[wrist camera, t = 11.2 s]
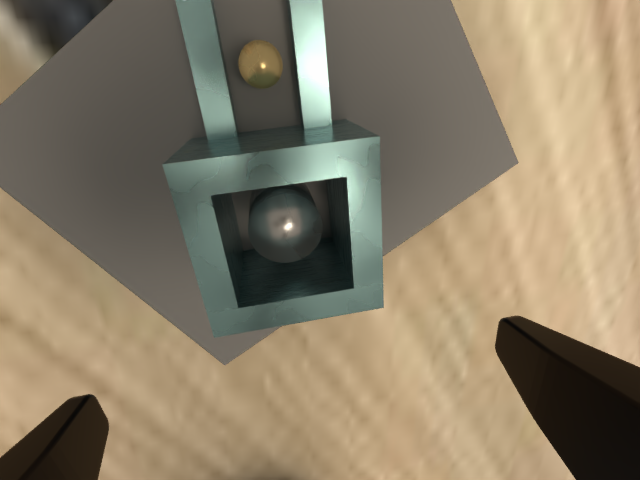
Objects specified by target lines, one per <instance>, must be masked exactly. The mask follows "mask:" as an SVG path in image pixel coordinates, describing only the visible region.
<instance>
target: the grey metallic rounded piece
mask: <svg viewBox="0 0 640 480" xmlns="http://www.w3.org/2000/svg"><path fill="white" fill-rule="evenodd" d="M322 230H323V224H322V219H321V216H320V214H319V211H318V209H317V207H316V204H315V202H314V200H313V197H312V195H311V193H310V190H309V188H308V186H307V185H306V183H305V182H304V183H297V184H289V185H282V186H275V187H268V188H261V189H254V190H252V193H251V197H250V208H249V221H248V235H249V239H250V242H251V244H252V245H253V247H254V248H255V250H256V251H257V252H258V253H259V254H260V255H262V256H263V257H265V258H267V259H269V260H271V261H275V262H280V263H288V262H294V261H298V260H300V259H302V258H304V257H306V256H308V255H309V254H310V253H311V252H312V251H313V250H314V249H315V248H316V247H317V245H318V243H319V242H320V239H321V236H322Z"/></svg>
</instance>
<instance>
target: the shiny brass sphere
mask: <svg viewBox="0 0 640 480" xmlns="http://www.w3.org/2000/svg"><path fill="white" fill-rule="evenodd" d="M238 65H239V70H240V73H241V75H242V77H243V78H244V80H245V81H246V82H247V83H248V84H249V85H251V86H253V87H255V88H259V89H265V88H269V87H271V86H273V85H274V84H276V83H277V81H278V80H279V79H280V77H281V74H282V70H283V63H282V58H281V55H280V53H279V52H278V50H277V49H276V48H275V47H274V46H273V45H272V44H271V43H269V42H267V41H264V40H254V41H251V42H249V43H248V44H246V45H245V46H244V47H243V49H242V50H241V52H240V55H239V60H238Z"/></svg>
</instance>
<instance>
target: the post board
mask: <svg viewBox="0 0 640 480" xmlns="http://www.w3.org/2000/svg"><path fill="white" fill-rule="evenodd" d="M213 1H214V6H215V11H216V17H217V22H218V27H219V32H220V37H221V43H222V48H223V53H224V58H225V63H226V68H227V74H228V79H229V84H230V89H231V94H232V99H233V105H234V110H235V115H236V120H237V125H238V130H239V132H247V131H255V130H263V129H271V128H279V127H287V126H295V125H301V119H300V111H299V102H298V94H297V85H296V76H295V68H294V59H293V51H292V42H291V34H290V25H289V16H288V8H287V0H213ZM322 5H323V18H324V30H325V43H326V56H327V68H328V81H329V93H330V106H331V118H332V121H336V120H344V119H347V120H349V121H351V122H353V123H355V124H357V125H359V126H361V127H363V128H365V129H367V130H369V131H371V132H373V133H375V134H377V135H379V136H380V167H381V212H382V257H383V256H384V255H386V254H387V253H388V252H390V251H391V250H393V249H394V248H396V247H397V246H399V245H400V244H401V243H403V242H404V241H406V240H407V239H409V238H410V237H412V236H413V235H415V234H416V233H417V232H419V231H420V230H422V229H423V228H425V227H426V226H428V225H429V224H431V223H432V222H433V221H435V220H436V219H438V218H439V217H441V216H442V215H444V214H445V213H446V212H448V211H449V210H451V209H452V208H454V207H455V206H457V205H458V204H460V203H461V202H462V201H464V200H465V199H467V198H468V197H470V196H471V195H473V194H474V193H475V192H477V191H478V190H480V189H481V188H483V187H484V186H486V185H487V184H489V183H490V182H491V181H493V180H494V179H496V178H497V177H499V176H500V175H502V174H503V173H505V172H506V171H507V170H509V169H510V168H512V167H513V166H515V165H516V164H518V160H517V158H516V155H515V153H514V151H513V148H512V146H511V143H510V141H509V139H508V136H507V134H506V131H505V129H504V127H503V124H502V122H501V119H500V117H499V115H498V112H497V110H496V107H495V105H494V103H493V100H492V98H491V95H490V93H489V91H488V88H487V86H486V83H485V81H484V79H483V76H482V74H481V71H480V69H479V67H478V64H477V62H476V59H475V57H474V55H473V52H472V50H471V48H470V45H469V43H468V40H467V38H466V36H465V33H464V31H463V28H462V26H461V24H460V21H459V19H458V16H457V14H456V12H455V9H454V7H453V4H452V2H451V0H322ZM254 40H264V41H267V42H269V43H271V44H272V45H273V46H274V47H275V48H276V49H277V50H278V52H279V53H280V55H281V58H282V63H283V70H282V74H281V77H280V79H279V80H278V81H277V83H276V84H274V85H273V86H271V87H269V88H265V89H259V88H255V87H253V86H251V85H249V84H248V83H247V82H246V81H245V80H244V78H243V77H242V75H241V73H240V70H239V65H238V60H239V55H240V52H241V50H242V49H243V47H244V46H245V45H246V44H248V43H249V42H251V41H254ZM199 137H207V134H206V130H205V126H204V121H203V117H202V113H201V108H200V104H199V100H198V96H197V91H196V87H195V83H194V78H193V74H192V70H191V66H190V61H189V57H188V53H187V48H186V44H185V40H184V36H183V31H182V27H181V23H180V18H179V14H178V10H177V6H176V1H175V0H113V1H112V2H111V3H110V4H109V5H108V6H107V7H106V8H105V9H104V10H103V11H101V12H100V13H99V14H98V15H97V16H96V17H95V18H94V19H93V20H92V21H91V22H90V23H88V24H87V25H86V26H85V27H84V28H83V29H82V30H81V31H80V32H79V33H78V34H77V35H75V36H74V37H73V38H72V39H71V40H70V41H69V42H68V43H67V44H66V45H65V46H64V47H62V48H61V49H60V50H59V51H58V52H57V53H56V54H55V55H54V56H53V57H52V58H51V59H49V60H48V61H47V62H46V63H45V64H44V65H43V66H42V67H41V68H40V69H39V70H38V71H36V72H35V73H34V74H33V75H32V76H31V77H30V78H29V79H28V80H27V81H26V82H25V83H23V84H22V85H21V86H20V87H19V88H18V89H17V90H16V91H15V92H14V93H13V94H12V95H10V96H9V97H8V98H7V99H6V100H5V101H4V102H3V103H2V104H1V105H0V188H2V189H3V190H4V191H5V192H7V193H8V194H9V195H11V196H12V197H13V198H14V199H16V200H17V201H18V202H19V203H21V204H22V205H23V206H24V207H26V208H27V209H28V210H29V211H31V212H32V213H33V214H34V215H36V216H37V217H38V218H40V219H41V220H42V221H43V222H45V223H46V224H47V225H48V226H50V227H51V228H52V229H53V230H55V231H56V232H57V233H58V234H60V235H61V236H62V237H64V238H65V239H66V240H67V241H69V242H70V243H71V244H72V245H74V246H75V247H76V248H77V249H79V250H80V251H81V252H82V253H84V254H85V255H86V256H87V257H89V258H90V259H91V260H93V261H94V262H95V263H96V264H98V265H99V266H100V267H101V268H103V269H104V270H105V271H106V272H108V273H109V274H110V275H111V276H113V277H114V278H115V279H117V280H118V281H119V282H120V283H122V284H123V285H124V286H125V287H127V288H128V289H129V290H130V291H132V292H133V293H134V294H135V295H137V296H138V297H139V298H140V299H142V300H143V301H144V302H146V303H147V304H148V305H149V306H151V307H152V308H153V309H154V310H156V311H157V312H158V313H159V314H161V315H162V316H163V317H164V318H166V319H167V320H168V321H170V322H171V323H172V324H173V325H175V326H176V327H177V328H178V329H180V330H181V331H182V332H183V333H185V334H186V335H187V336H188V337H190V338H191V339H192V340H193V341H195V342H196V343H197V344H199V345H200V346H201V347H202V348H204V349H205V350H206V351H207V352H209V353H210V354H211V355H212V356H214V357H215V358H216V359H217V360H219V361H220V362H221V363H223V364H224V365H226V364H227V363H229V362H230V361H232V360H233V359H235V358H236V357H238V356H239V355H240V354H242V353H243V352H245V351H246V350H248V349H249V348H251V347H252V346H253V345H255V344H256V343H258V342H259V341H261V340H262V339H264V338H265V337H267V336H268V335H269V334H271V333H272V332H274V331H275V330H277V329H278V328H280V327H281V326H278V327H272V328H267V329H261V330H255V331H250V332H244V333H239V334H233V335H227V336H222V337H216V338H214V336H213V333H212V329H211V326H210V323H209V319H208V316H207V312H206V309H205V306H204V302H203V299H202V296H201V292H200V289H199V286H198V282H197V279H196V276H195V272H194V269H193V266H192V262H191V259H190V255H189V252H188V249H187V245H186V242H185V239H184V235H183V232H182V229H181V225H180V222H179V219H178V215H177V212H176V209H175V205H174V202H173V198H172V195H171V192H170V188H169V185H168V182H167V178H166V175H165V172H164V168H163V165H162V164H163V163H164V162H166V161H167V160H168V159H169V158H170V157H171V156H172V155H173V154H174V153H175V152H177V151H178V150H179V149H180V148H181V147H182V146H183V145H184V144H185V143H186V142H188V141H189V140H190V139H191V138H199ZM305 183H306V185H307V186H308V188H309V190H310V193H311V195H312V197H313V200H314V202H315V204H316V207H317V209H318V211H319V214H320V216H321V219H322V224H323V230H322V236H321V238H327V237H331V228H330V217H329V206H328V195H327V185H326V179H325V180H318V181H311V182H305ZM251 193H252V190H247V191H239V192H232V193H231V195H232V199H233V204H234V208H235V213H236V217H237V222H238V227H239V231H240V236H241V240H242V245H243V249H244V250H250V249H255V248H254V247H253V245H252V244H251V242H250V239H249V235H248V221H249V208H250V197H251Z"/></svg>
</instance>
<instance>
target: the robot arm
mask: <svg viewBox="0 0 640 480" xmlns="http://www.w3.org/2000/svg"><path fill="white" fill-rule="evenodd" d="M495 349H496V353H497V355H498V357H499V359H500V361H501V363H502V364H503V366H504V368H505V370H506V371H507V373H508V375H509V377H510V378H511V380H512V382H513V384H514V386H515V387H516V389H517V391H518V393H519V394H520V396H521V398H522V400H523V401H524V403H525V405H526V407H527V408H528V410H529V412H530V413H531V415H532V417H533V418H534V420H535V421H536V423H537V424H538V426H539V427H540V429H541V430H542V432H543V433H544V434H545V436H546V437H547V439H548V440H549V442H550V443H551V444H552V446H553V447H554V449H555V450H556V452H557V453H558V455H559V456H560V457H561V459H562V460H563V462H564V463H565V465H566V466H567V467H568V469H569V470H570V472H571V473H572V475H573V476H574V478H575V479H576V480H640V367H638V366H635V365H633V364H631V363H629V362H626V361H624V360H622V359H619V358H617V357H615V356H612V355H610V354H608V353H605V352H603V351H601V350H598V349H596V348H594V347H591V346H589V345H587V344H584V343H582V342H580V341H577V340H575V339H573V338H570V337H568V336H566V335H563V334H561V333H559V332H556V331H554V330H552V329H549V328H547V327H545V326H542V325H540V324H538V323H535V322H533V321H531V320H528V319H526V318H524V317H521V316H511V317H506V318H502V319H501V320H500V321H499V324H498V330H497V336H496V343H495ZM108 431H109V423H108V419H107V417H106V415H105V413H104V411H103V410H102V408H101V406H100V404H99V402H98V400H97V398H96V397H95V396H94V395H92V394H87V395H82V396H77V397H72V398H70V399H68V400H67V401H66V402H64V403H63V404H62V405H61V406H60V407H59V408H57V409H56V410H55V411H54V412H53V413H52V414H50V415H49V416H48V417H47V418H46V419H45V420H44V421H42V422H41V423H40V424H39V425H38V426H37V427H35V428H34V429H33V430H32V431H31V432H30V433H28V434H27V435H26V436H25V437H24V438H23V439H21V440H20V441H19V442H18V443H17V444H16V445H14V446H13V447H12V448H11V449H10V450H9V451H8V452H6V453H5V454H4V455H3V456H2V457H1V458H0V480H98V476H99V472H100V467H101V463H102V458H103V454H104V449H105V445H106V441H107V436H108Z"/></svg>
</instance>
